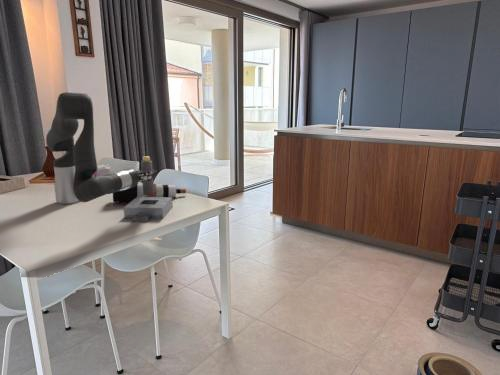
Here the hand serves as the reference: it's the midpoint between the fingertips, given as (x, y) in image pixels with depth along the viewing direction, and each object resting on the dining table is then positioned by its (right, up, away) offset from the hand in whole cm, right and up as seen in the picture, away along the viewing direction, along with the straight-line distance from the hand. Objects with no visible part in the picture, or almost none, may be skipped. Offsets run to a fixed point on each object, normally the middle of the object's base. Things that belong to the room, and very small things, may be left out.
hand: (151, 171), depth 150 cm
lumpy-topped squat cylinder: (-48, -2, +64) cm, 80 cm away
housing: (-1, -17, +2) cm, 17 cm away
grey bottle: (-1, -9, 0) cm, 9 cm away
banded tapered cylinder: (-6, -13, +21) cm, 26 cm away
